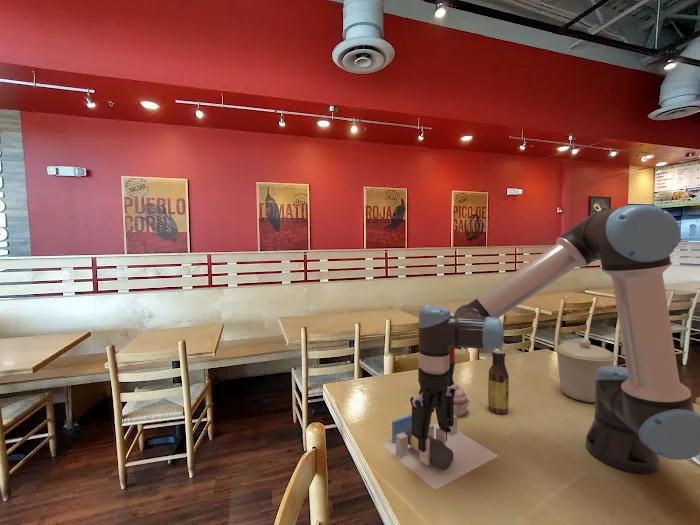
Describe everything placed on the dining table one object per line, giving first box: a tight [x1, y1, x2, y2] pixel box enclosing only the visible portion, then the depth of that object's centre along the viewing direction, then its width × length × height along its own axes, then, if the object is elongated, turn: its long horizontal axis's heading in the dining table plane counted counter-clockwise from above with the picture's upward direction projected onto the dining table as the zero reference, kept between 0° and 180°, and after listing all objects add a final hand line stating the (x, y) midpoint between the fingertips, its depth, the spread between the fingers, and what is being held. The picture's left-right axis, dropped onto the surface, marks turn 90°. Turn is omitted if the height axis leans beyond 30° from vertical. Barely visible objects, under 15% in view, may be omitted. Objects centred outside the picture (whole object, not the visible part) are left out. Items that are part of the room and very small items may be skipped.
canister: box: [554, 338, 617, 404], centre depth 123 cm, size 18×18×21 cm
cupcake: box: [451, 383, 471, 417], centre depth 111 cm, size 9×9×10 cm
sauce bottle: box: [487, 349, 510, 415], centre depth 113 cm, size 7×6×20 cm
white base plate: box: [381, 413, 500, 491], centre depth 91 cm, size 20×23×7 cm
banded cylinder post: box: [406, 427, 453, 470], centre depth 88 cm, size 12×5×5 cm, turn 32°
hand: (432, 458), depth 86 cm, fingers closed on banded cylinder post, 5 cm apart
